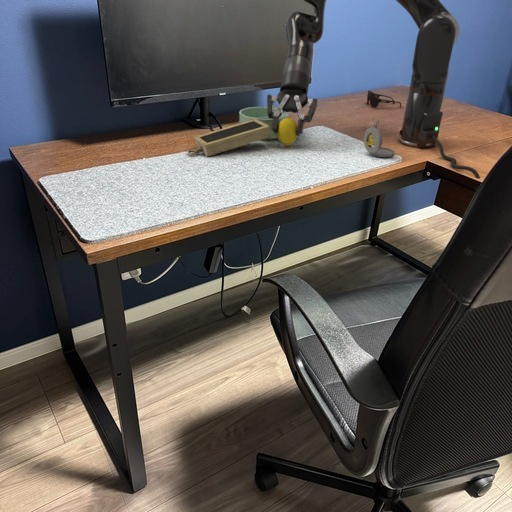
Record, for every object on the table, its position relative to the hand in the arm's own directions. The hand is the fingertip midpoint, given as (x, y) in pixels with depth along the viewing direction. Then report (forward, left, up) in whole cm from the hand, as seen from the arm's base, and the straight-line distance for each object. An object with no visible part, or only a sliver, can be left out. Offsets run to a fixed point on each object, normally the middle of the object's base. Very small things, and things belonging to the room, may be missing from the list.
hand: (286, 132), depth 129 cm
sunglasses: (+29, -60, -4) cm, 67 cm away
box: (+5, +15, -4) cm, 16 cm away
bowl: (+14, -1, -4) cm, 15 cm away
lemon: (+1, -1, -4) cm, 5 cm away
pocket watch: (-14, -20, -4) cm, 25 cm away
